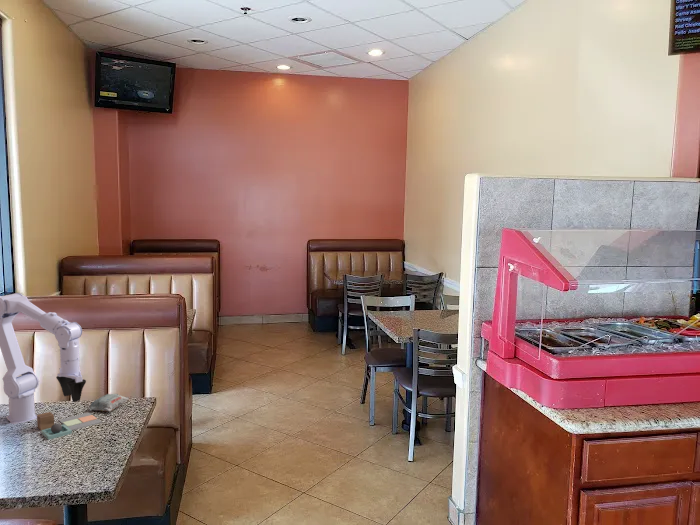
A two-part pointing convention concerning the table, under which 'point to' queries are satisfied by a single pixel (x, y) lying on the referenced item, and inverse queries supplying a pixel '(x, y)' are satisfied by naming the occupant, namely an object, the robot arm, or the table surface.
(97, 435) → the table surface
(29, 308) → the robot arm
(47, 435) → the dish
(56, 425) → the ball
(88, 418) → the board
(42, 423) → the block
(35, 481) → the table surface
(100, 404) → the packaged food
